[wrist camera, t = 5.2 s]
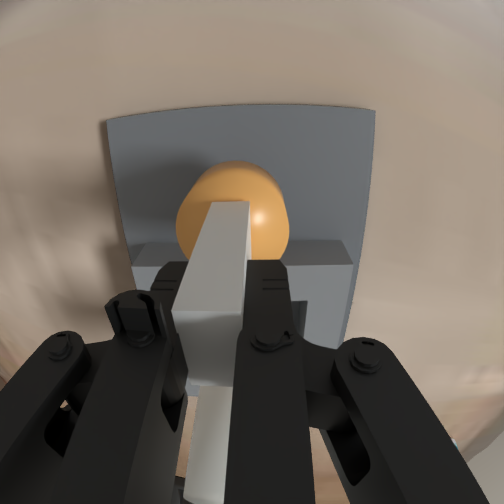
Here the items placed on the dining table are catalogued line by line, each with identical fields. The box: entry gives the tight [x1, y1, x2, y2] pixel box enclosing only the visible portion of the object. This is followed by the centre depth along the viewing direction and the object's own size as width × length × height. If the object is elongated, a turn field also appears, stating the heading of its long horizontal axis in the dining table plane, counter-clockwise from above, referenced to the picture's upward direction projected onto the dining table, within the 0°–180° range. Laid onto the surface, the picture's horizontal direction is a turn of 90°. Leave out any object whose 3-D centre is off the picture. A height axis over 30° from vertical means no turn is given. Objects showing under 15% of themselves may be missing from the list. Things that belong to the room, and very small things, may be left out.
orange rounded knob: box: [176, 161, 289, 260], centre depth 14 cm, size 5×5×3 cm
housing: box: [106, 104, 375, 396], centre depth 20 cm, size 16×22×4 cm
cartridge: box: [183, 386, 233, 504], centre depth 17 cm, size 5×5×14 cm
